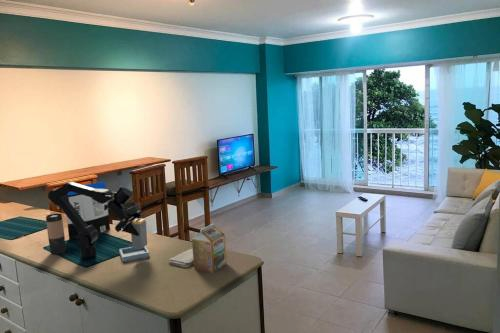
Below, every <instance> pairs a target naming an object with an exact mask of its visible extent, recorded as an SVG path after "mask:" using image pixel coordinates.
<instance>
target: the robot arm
mask: <svg viewBox="0 0 500 333" xmlns="http://www.w3.org/2000/svg"><path fill="white" fill-rule="evenodd" d="M84 185H85V184H80V183H77V182H74V181H69V182H66V183H65V184H63V185H62V186H60V187H57V188H54V189H52V190H50V191H49V192H48V193H47V198H48V200H49V201H50V202H51V203H52V204H53V205H55V206H56V207H59V208H60V209H61V211H63V212H64V214H65V215H67V217H68V218H69V219H70V221H71V222H72V223H73V224H74V226H75V227H76V228H77V230H78V233H79V237H80V239H79V241H78V242H77V243H76V247H77V248H78V249H80V254H81V256H80V257H81V261H84V260H89V259H96V256H97V248H96V245H95V243H97V240H98V238H99V235H98V232H97V231H98V230H96V229H95V227H94V226H93V225H91V226H89V225H87V224H86V223H85V221H84V220H83V219H82V217H81V216H80V215H79V214H78V212H77V211H76V210H75V208H74V207H73V206H72V204H71V203H70V202H69V197H68V194H67V193H69V192H70V191H71V192H74V193H78V194H81V195H85V196H88V197H91V198H93V199H94V200H95V201H97V202H99V203H101V204H104V203H106V202H107V204H105V205H104V210H107V209H108V211H110V212H111V213H112V214H113V215H114V218H115V219H118V220H119V222H118V223H117V224H116V225H115V226H114V230H115V231H116V233H120V232H124V233H128V234H130V235H131V234H133V235H136V236H138V235H139V233H138V232H137V231H136V230H135V228H134V227H133V226H132V221H133V220H135V219H139V218H141V219H142V215H143V214H144V213H143V212H142V210H141V205H140V204H139V203H137V202H135V203H132V206H131V207H128V206H124V205H126V204H127V202H128V201H129V200H130V199H131V198H132V197H133V195H134V194H133V192H132V191H131V190H130V189H128V188H126V187H124V186H121V187H119V188H118V190H117V191H116V192H115V191H112V190H111V189H107V188H106V189H94V188H91V187H87V186H84ZM67 217H66V218H67Z"/></svg>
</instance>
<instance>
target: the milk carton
mask: <svg viewBox="0 0 500 333" xmlns="http://www.w3.org/2000/svg"><path fill="white" fill-rule="evenodd" d="M191 243H192V245H191V246H192V249H193V260H194V264H193V269H195V270H199V271H203V272H208V273H212V274H213V273H215V272H216V271H218V270H220V269H221V268H224V266H227V264H228V263H227V249H226V248H227V247H226V234H225V233H224V232H223V231H222V230H221V229H220V228H219V227H217V226H216V223H212V224H209V225H207V226H205V227H203V228H201V229H200V231H199V233H197V234H195V235H194V236H193V237H192V238H191Z"/></svg>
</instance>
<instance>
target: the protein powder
mask: <svg viewBox="0 0 500 333" xmlns="http://www.w3.org/2000/svg"><path fill="white" fill-rule="evenodd" d="M83 185H84V186H87V187H91V188H94V189H107V188H106V181H105V180H104V181H100V182H99V181H98V182H94V183H87V184H83ZM67 194H68V197H69V202H70V203H71V204H72V206H73V207H74V208H75V210H76V211H77V212H78V214H79V215H80V216H81V217H82V219H83V220H84V221H85V223H86V224H87V225H89V226H91V225H93V226H94V227H95V229H96V230H98V231H97V232H98V234H99V233H102V234H104V233H106V232H107V230H108V231H110V230H111V225H110V217H109V216H110V215H109V209H107V210H104V205H105V204H108V202H106V203H104V204H101V203H99V202H97V201H95V200H94V199H93V198H91V197H88V196H85V195H81V194H78V193H74V192H71V191H70V192H69V193H67ZM65 215H66V214H65ZM66 221H67V222H66V223H67V230H68V231H67V232H68V240H69V241H70V239H71V240H76V239H75V238H80V237H79V233H78V230H77V228H76V227H75V226H74V224H73V223H72V222H71V221H70V219H69V218H68V217H67V215H66ZM109 229H110V230H109ZM103 232H104V233H103ZM99 235H100V234H99Z"/></svg>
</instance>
